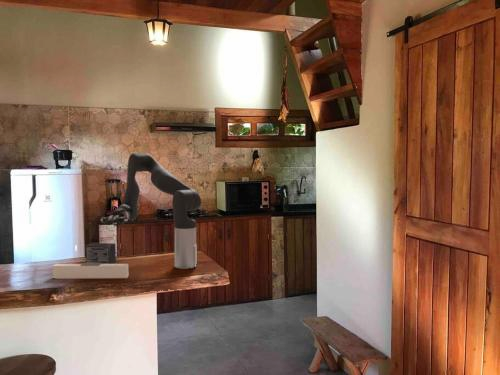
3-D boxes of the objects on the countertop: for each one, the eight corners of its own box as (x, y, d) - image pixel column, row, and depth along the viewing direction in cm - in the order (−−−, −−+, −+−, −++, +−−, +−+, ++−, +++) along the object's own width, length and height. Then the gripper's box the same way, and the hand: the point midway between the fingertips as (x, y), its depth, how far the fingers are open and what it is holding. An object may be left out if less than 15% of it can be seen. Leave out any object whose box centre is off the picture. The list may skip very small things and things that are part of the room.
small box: (116, 266, 168) (116, 242, 167) (109, 271, 161) (109, 246, 161) (93, 266, 169) (92, 242, 168) (85, 270, 162) (85, 245, 162)
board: (128, 276, 155) (128, 262, 154) (126, 278, 152) (126, 264, 152) (55, 276, 153) (55, 263, 153) (52, 278, 151) (52, 264, 150)
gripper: (105, 209, 192) (93, 214, 175) (132, 209, 193) (123, 214, 175) (105, 224, 192) (93, 231, 175) (133, 224, 193) (123, 231, 176)
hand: (108, 222), depth 175 cm, fingers closed
